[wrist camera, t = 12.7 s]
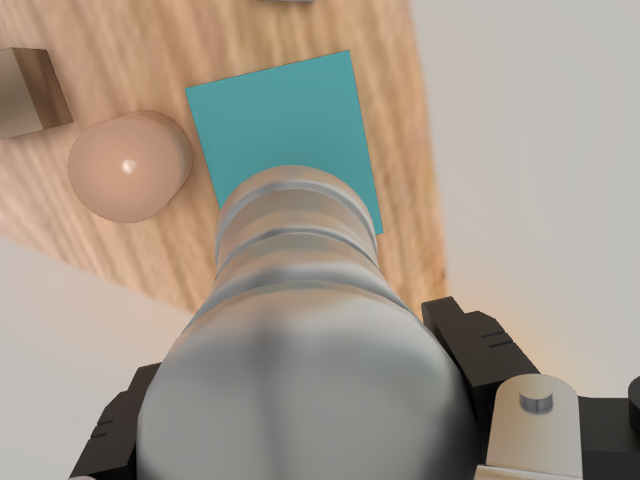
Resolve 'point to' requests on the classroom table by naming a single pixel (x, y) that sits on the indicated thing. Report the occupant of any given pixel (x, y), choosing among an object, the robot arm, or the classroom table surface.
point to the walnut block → (29, 93)
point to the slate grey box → (295, 0)
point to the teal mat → (285, 125)
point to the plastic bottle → (304, 355)
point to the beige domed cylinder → (130, 165)
